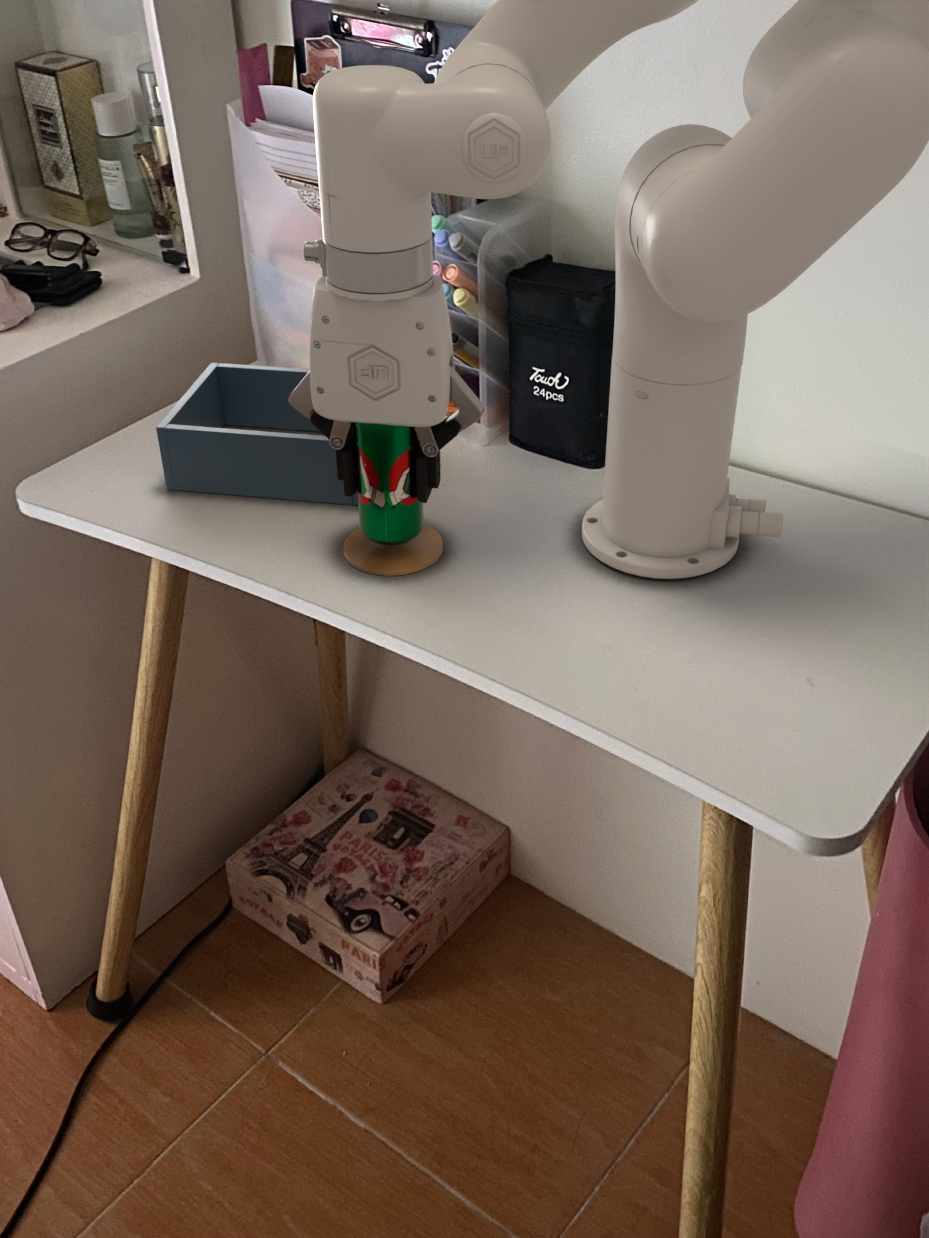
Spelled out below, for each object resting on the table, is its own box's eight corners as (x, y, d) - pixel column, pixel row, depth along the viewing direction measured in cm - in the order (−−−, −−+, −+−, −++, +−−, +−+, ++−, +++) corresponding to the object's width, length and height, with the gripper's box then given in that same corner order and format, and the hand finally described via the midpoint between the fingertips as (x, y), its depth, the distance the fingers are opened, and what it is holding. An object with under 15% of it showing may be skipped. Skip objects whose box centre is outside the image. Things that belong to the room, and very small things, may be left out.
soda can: (427, 517, 99) (423, 380, 92) (419, 550, 95) (414, 409, 88) (365, 514, 100) (357, 378, 93) (355, 547, 96) (345, 407, 89)
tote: (397, 433, 115) (394, 374, 111) (361, 506, 104) (357, 442, 101) (219, 420, 118) (211, 362, 114) (166, 489, 107) (155, 427, 103)
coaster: (451, 527, 101) (451, 523, 101) (431, 580, 95) (431, 576, 94) (357, 519, 102) (357, 515, 102) (332, 570, 96) (331, 566, 96)
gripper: (243, 274, 83) (270, 505, 94) (491, 288, 81) (489, 525, 91) (277, 238, 89) (298, 460, 100) (508, 251, 87) (505, 477, 97)
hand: (389, 489), depth 95 cm, fingers closed on soda can, 5 cm apart
